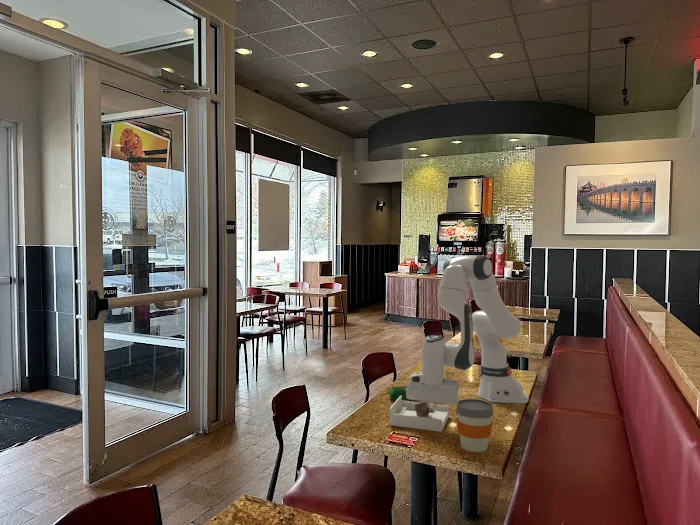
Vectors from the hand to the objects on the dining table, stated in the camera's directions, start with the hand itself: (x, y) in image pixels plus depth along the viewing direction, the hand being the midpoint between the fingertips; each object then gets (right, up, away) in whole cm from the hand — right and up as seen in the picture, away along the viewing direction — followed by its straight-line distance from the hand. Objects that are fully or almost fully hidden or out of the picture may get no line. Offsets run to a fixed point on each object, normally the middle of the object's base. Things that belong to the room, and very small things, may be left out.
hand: (431, 412), depth 200 cm
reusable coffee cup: (+11, -6, -22) cm, 26 cm away
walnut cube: (-3, -1, +1) cm, 3 cm away
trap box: (-4, -4, +3) cm, 6 cm away
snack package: (-7, -3, +31) cm, 32 cm away
